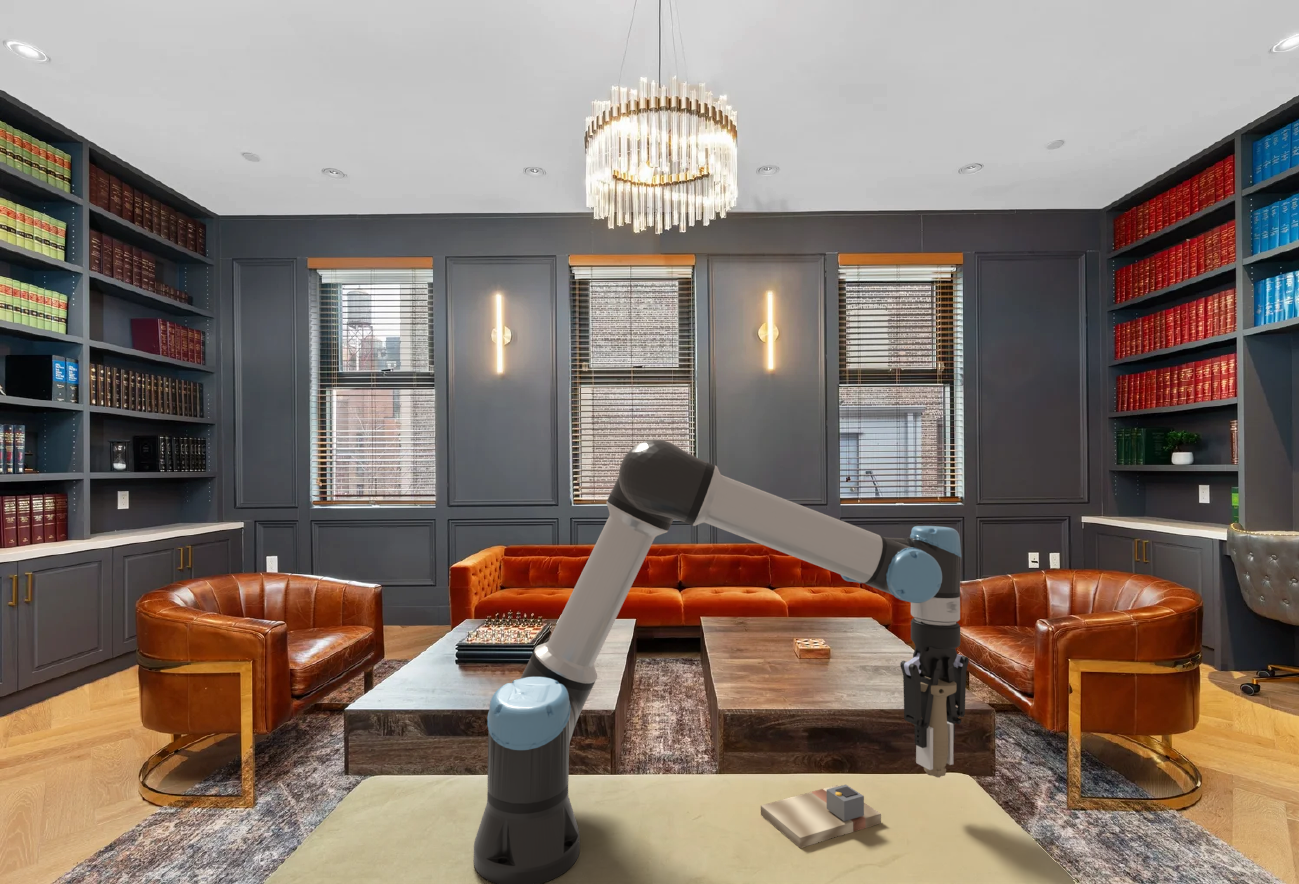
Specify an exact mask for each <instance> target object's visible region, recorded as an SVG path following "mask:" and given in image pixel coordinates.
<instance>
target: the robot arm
mask: <svg viewBox="0 0 1299 884" xmlns="http://www.w3.org/2000/svg"><path fill="white" fill-rule="evenodd" d="M605 504H606V506H607V509H608V512H609V513H608V514H609V516H608V518H607V520H606V522H605V524H604V526H603V529H602V530H601V532H600V534H599V536H598V539H597V541H596V543H595V544H594V547H593V549H592V551H591V553H590V554H589V557H588V560H587V561H586V564H585V566H584V567H583V569H582V571H581V574H580V576H579V577H578V579H577V582H576V584H575V585H574V588H573V590H572V592H571V594H570V596H569V598H568V600H567V602H566V604H565V607H564V609H563V610H562V613H561V615H560V617H559V619H558V620H557V623H556V625H555V627H554V629H553V631H552V634H551V635H550V638H549V639H548V641H547V642H544V643H541V644H539V645H536V646H535V648H534V650H533V652H532V654H531V656H530V658H529V660H528V662H527V665H526V667H525V668H524V669H523V670H524V671H523V673H522V675H521V677H520V678H517V679H515V680H513V681H512V682H507V683H505V684H504V685H502V686H500V687H499V688H498V689H497V690H496V691H495V692H494V693H493V695H492V696H491V699H490V702H489V708H488V713H487V725H486V726H487V730H488V731H487V734H488V735H487V794H486V795H487V796H486V797H487V800H486V805H485V808H484V811H483V815H482V817H481V820H480V824H479V826H478V829H477V832H476V835H475V839H474V841H473V842H474V844H473V866H474V868H475V870H476V872H477V873H478V874H479V875H480V876H481V877H482V878H484V879H485V880H487V881H489V882H491V883H494V884H542V883H546V882H549V881H551V880H554V879H556V878H559V876H561V875H563V874H565V873H566V872H567V871H569V870H570V869H571V868H572V866H573V865H575V863H576V862H577V860H578V858H579V855H580V845H581V841H580V839H581V837H580V836H581V833H580V830H579V826H578V823H577V820H576V817H575V812H574V809H573V806H572V803H571V800H570V797H569V775H570V773H569V769H570V768H569V767H570V766H569V764H570V762H569V761H570V759H569V758H570V757H569V755H570V742H571V740H572V736H573V734H574V731H575V727H576V725H577V722H578V719H579V717H580V715H581V712H582V711H583V708H584V706H585V704H586V702H587V700H588V698H589V696H590V693H591V691H592V690H593V688H594V685H595V684H596V681H597V680H598V673H597V670H596V667H595V663H596V660H597V658H598V657H599V654H600V652H601V650H602V648H603V646H604V644H605V642H606V640H607V638H608V636H609V633H610V632H611V629H612V627H613V625H614V624H615V621H616V619H617V617H618V615H619V613H620V611H621V609H622V607H623V604H624V602H625V600H626V599H627V597H628V594H629V592H630V590H631V589H632V586H633V583H634V581H635V580H636V578H637V575H638V573H639V571H640V570H641V567H642V565H643V564H644V561H645V559H646V557H647V555H648V553H649V551H650V549H651V546H652V545H653V542H654V540H655V538H657V537H658V536H660V535H663V534H665V533H668V532H669V530H670V528H671V526H672V523H673V521H674V520H677V521H680V522H682V523H686V524H688V525H690V526H693V527H695V526H698V525H701V524H707V525H709V526H712V527H715V528H717V529H721V530H722V531H725V532H728V533H730V534H734V535H736V536H739V537H742V538H744V539H746V540H749V541H752V542H754V543H757V544H759V545H762V546H765V547H767V548H770V549H773V550H775V551H778V552H780V553H783V554H785V555H789V556H791V557H794V558H795V559H799V560H802V561H804V562H807V563H809V564H811V565H815V566H818V567H820V568H823V569H825V570H828V571H830V572H834V573H836V574H838V575H840V576H841V578H842V579H843V580H844V581H846V582H853V583H858V584H864V585H867V586H869V587H871V588H874V589H877V590H879V591H881V592H885V593H887V594H890V595H892V596H894V597H895V598H896V599H898V600H900V601H903V602H908V603H910V615H911V616H912V619H911V620H910V640H911V642H913V644H914V651H913V654H912V658H911V659H910V660H908V661H906V660H901V662H900V663H899V665H900V669H901V673H902V675H903V676H902V678H903V683H902V684H903V714H904V715H903V719H904V720H905V721H906V722H907V723H910V724H912V725H913V726H914V744H915V746H916V747H915V749H916V750H915V751H916V752H915V757H916V758H915V762H916V764H917V765H919V766H921V767H923V768H924V767H925V768H927V769H929V770H932V769H933V728H932V727H929V724H930V717H931V710H932V703H933V696H934V695H933V694H931V686H933V685H938V680H942V681H944V682H947V683H951V682H953V681H954V682H955V683H956V692H955V693H953V694H951V695H949V696H947V699H946V712H947V729H948V756H947V763H946V765H949V766H951V765H952V766H953V765H954V742H955V739H956V736H955V735H956V725H960V724H961V723H962V719H961V718H964V717H965V714H966V686H967V684H966V682H967V669H968V666H969V661H970V659H969V657H968V656H965V655H962V654H958V653H957V648H959V647H960V645H961V625H960V624H959V621H960V620H961V561H962V556H963V555H962V549H961V547H962V546H961V537H960V533H959V532H958V530H956V529H955V528H953V527H948V526H938V525H936V526H935V525H916V526H913V527H912V528H911V531H910V532H911V533H910V535H909V537H901V538H900V537H884V536H882V535H880V534H877V533H874V532H872V531H869V530H866V529H864V528H862V527H860V526H859V527H858V526H856V525H854V524H851V523H848V522H846V521H843V520H841V519H838V518H836V517H833V516H830V515H827V514H824V513H822V512H819V511H817V510H815V509H812V508H809V507H808V506H807V507H806V506H803V505H801V504H799V503H796V502H794V501H791V500H788V499H785V498H784V497H780V496H778V495H775V494H773V493H770V492H767V491H765V490H761V489H759V488H757V487H754V486H752V485H749V484H746V483H743V482H741V481H739V480H736V479H733V478H730V477H728V476H726V475H725V476H724V475H722V474H721V472H720V469H719V467H718V466H717V465H715V464H712V463H710V462H707V461H705V460H702V459H700V458H699V457H696V456H695V455H692V454H691V453H689V452H686V451H685V450H684V449H682V448H681V447H679V446H677V445H675V444H674V443H672V442H669V441H667V440H663V439H650V440H644V441H641V442H640V443H638V444H636V445H635V446H632V448H630V450H629V451H628V452H627V453H626V454H625V455H624V457H623V458H622V461H621V463H620V466H619V471H618V477H617V479H616V481H615V483H614V485H613V487H612V489H611V491H610V494H609V496H608V498H607V500H606V503H605ZM924 676H925V677H924ZM926 677H928V678H926ZM929 678H931V679H929ZM921 682H922V683H925V684H927V685H928V687H927V689H926V691H925V692H922V691H921Z"/></svg>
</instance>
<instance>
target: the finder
mask: <svg viewBox="0 0 1299 884" xmlns="http://www.w3.org/2000/svg"><path fill="white" fill-rule="evenodd" d="M864 803H865V796H864V794H861V793H860V792H858V791H856V790H855V789H854V788H852V787H851V786H849V785H847V784H843V785H838V787H834V788H831V789H827V809H828V810H829V811H830V812H832V813H833V814H835V815H836V816H837V817H839V818H840V819H842V820H843V821H847V820H851V819H854V818H857V817H861V816H864Z"/></svg>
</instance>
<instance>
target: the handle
mask: <svg viewBox="0 0 1299 884" xmlns="http://www.w3.org/2000/svg"><path fill="white" fill-rule="evenodd" d="M924 677H925V676H924ZM926 678H928V677H926ZM929 679H931V678H929ZM927 687H928V685H927V684H925V683H922V682H921V691H922V692H925V691H926V689H927ZM955 692H956V683H955V682H954V681H953V682H951V683H947V682H944V681H942V680H938V685H933V686H931V694H933V695H934V696H933V703H932V710H931V717H930V724H929V727H932V728H933V769H932V770H929V769H927V768H925V767H923V770H924V772H925V773H926V774H927V775H928V776H932V777H935V778H939V779H940V778H942V777H945V776H946V773H947V767H946V766H947V756H948V729H947V712H946V699H947V696H949V695H951V694H953V693H955Z"/></svg>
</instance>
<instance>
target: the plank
mask: <svg viewBox="0 0 1299 884" xmlns="http://www.w3.org/2000/svg"><path fill="white" fill-rule="evenodd" d="M838 786H839V785H838V784H837V785H832V786H827V787H825V788H820V789H817V790H813V791H809V792H806V793H805V792H804V793H802V794H798V795H794V796H791V797H786V798H784V799H779V800H775V801H772V802H769V803H764V804H761V805H760V816H761V817H763V819H765V820H766V821H767V822H769V823H770V824H771V825H772V826H773V827H774V828H775V829H777V830H778V832H779V831H780V832H781V834H782V835H784V836H785V837H786V838H787V839H788V840H790V841H791V842H792V843H793V844H795V845H796V846H797V847H798V848H800V849H802V848H806V847H808V846H812V845H816V844H818V842H819V843H822V842H826V841H828V840H831V838H832V839H835V838H838V837H841V836H844V834H845V835H847V834H851V833H854V832H858V831H861V830H864V829H866V828H867V829H868V828H870V827H873V826H877V825H880V824H881V823H882V813H881V812H879V811H878V810H877V809H874V807H872V806H870V805H868V803H866V802H864V816H861V817H857V818H854V819H851V820H847V821H843V820H842V819H840V818H839V817H837V816H836V815H835V814H833V813H832V812H830V811H829V810H828V809H827V789H831V788H834V787H838ZM837 836H838V837H837ZM834 837H835V838H834ZM821 841H822V842H821Z"/></svg>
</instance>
